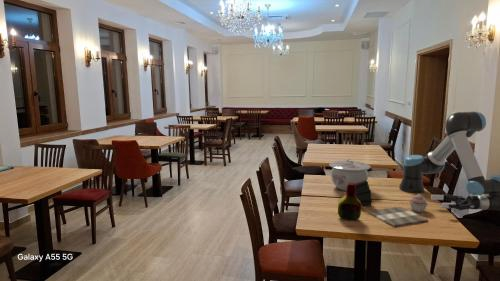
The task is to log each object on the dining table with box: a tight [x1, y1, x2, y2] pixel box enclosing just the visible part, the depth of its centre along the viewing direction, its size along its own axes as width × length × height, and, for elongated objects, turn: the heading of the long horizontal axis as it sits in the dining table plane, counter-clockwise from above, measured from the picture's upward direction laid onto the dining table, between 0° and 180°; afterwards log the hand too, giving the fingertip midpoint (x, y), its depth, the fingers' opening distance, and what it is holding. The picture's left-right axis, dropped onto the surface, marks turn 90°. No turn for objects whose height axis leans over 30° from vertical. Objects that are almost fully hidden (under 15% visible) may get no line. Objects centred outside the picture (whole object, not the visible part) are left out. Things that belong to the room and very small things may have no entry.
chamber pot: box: [329, 159, 372, 192], centre depth 226 cm, size 28×28×21 cm
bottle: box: [337, 183, 363, 221], centre depth 174 cm, size 12×6×20 cm, turn 67°
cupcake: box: [409, 193, 428, 213], centre depth 186 cm, size 9×9×10 cm
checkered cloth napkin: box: [367, 206, 429, 228], centre depth 177 cm, size 22×20×1 cm
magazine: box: [355, 180, 373, 207], centre depth 196 cm, size 4×13×15 cm, turn 67°
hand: (436, 201), depth 184 cm, fingers open, 13 cm apart
